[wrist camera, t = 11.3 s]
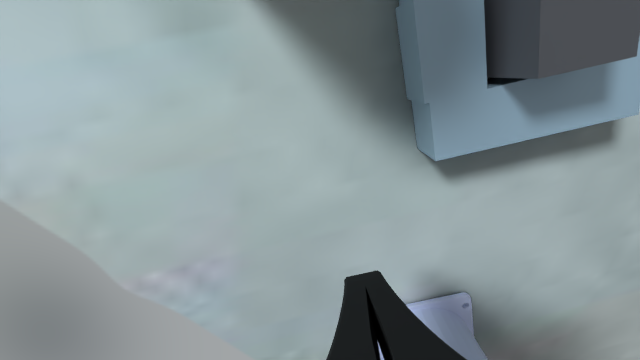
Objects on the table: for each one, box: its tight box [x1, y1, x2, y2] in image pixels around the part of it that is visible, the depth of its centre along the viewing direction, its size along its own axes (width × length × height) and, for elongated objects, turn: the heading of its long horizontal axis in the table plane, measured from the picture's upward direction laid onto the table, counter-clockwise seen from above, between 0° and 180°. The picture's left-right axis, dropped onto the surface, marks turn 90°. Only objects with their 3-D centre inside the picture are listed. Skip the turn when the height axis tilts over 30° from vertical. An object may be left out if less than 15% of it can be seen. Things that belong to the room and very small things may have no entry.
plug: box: [484, 0, 640, 79], centre depth 14 cm, size 4×4×6 cm
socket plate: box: [395, 0, 640, 161], centre depth 16 cm, size 12×12×3 cm
